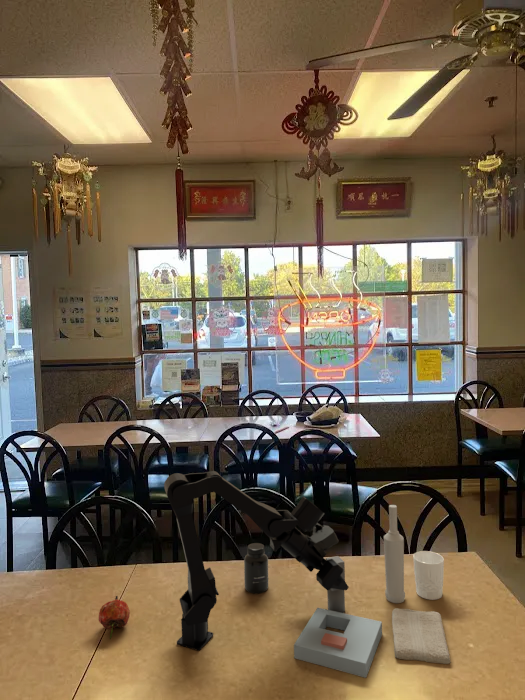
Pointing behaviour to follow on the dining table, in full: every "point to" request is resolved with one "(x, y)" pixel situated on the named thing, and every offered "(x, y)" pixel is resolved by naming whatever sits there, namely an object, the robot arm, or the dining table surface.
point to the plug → (337, 591)
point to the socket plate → (339, 642)
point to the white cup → (428, 574)
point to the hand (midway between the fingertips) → (339, 580)
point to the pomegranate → (114, 614)
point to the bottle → (394, 560)
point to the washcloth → (419, 636)
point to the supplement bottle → (256, 569)
